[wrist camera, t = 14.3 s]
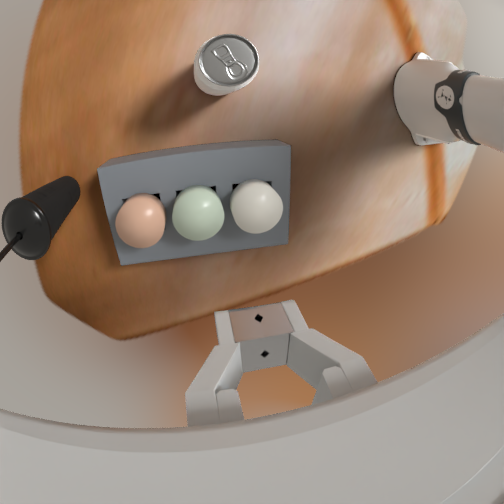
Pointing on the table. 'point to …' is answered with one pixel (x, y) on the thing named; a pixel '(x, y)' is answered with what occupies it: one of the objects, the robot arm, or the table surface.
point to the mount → (197, 173)
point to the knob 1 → (141, 220)
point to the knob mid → (198, 213)
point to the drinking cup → (38, 217)
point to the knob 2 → (255, 206)
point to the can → (225, 64)
